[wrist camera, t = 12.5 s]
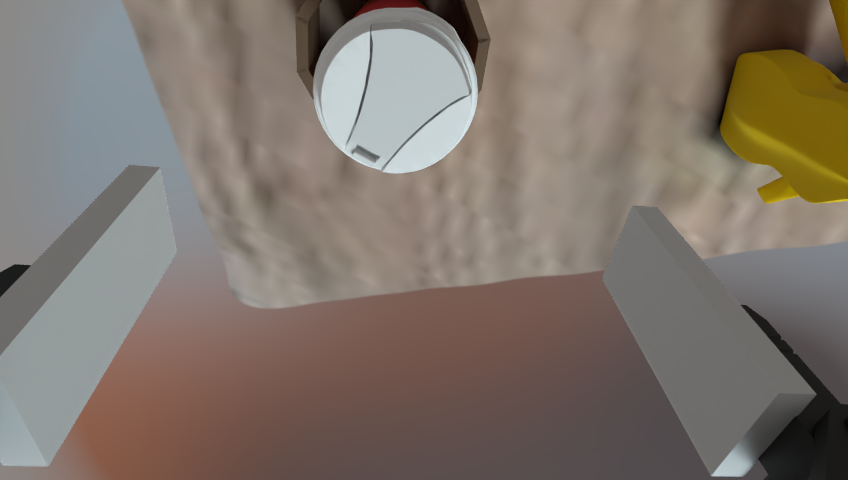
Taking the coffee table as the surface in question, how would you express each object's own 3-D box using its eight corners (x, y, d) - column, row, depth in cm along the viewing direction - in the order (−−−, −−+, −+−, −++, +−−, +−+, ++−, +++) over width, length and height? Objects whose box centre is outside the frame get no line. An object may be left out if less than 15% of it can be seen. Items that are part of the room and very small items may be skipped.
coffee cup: (412, 112, 39) (422, 207, 27) (317, 55, 36) (280, 133, 24) (473, 15, 36) (518, 75, 23) (373, -56, 33) (363, -32, 20)
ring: (308, -73, 32) (293, -69, 27) (487, -49, 33) (504, -41, 28) (310, 106, 39) (298, 136, 34) (460, 120, 40) (470, 150, 35)
